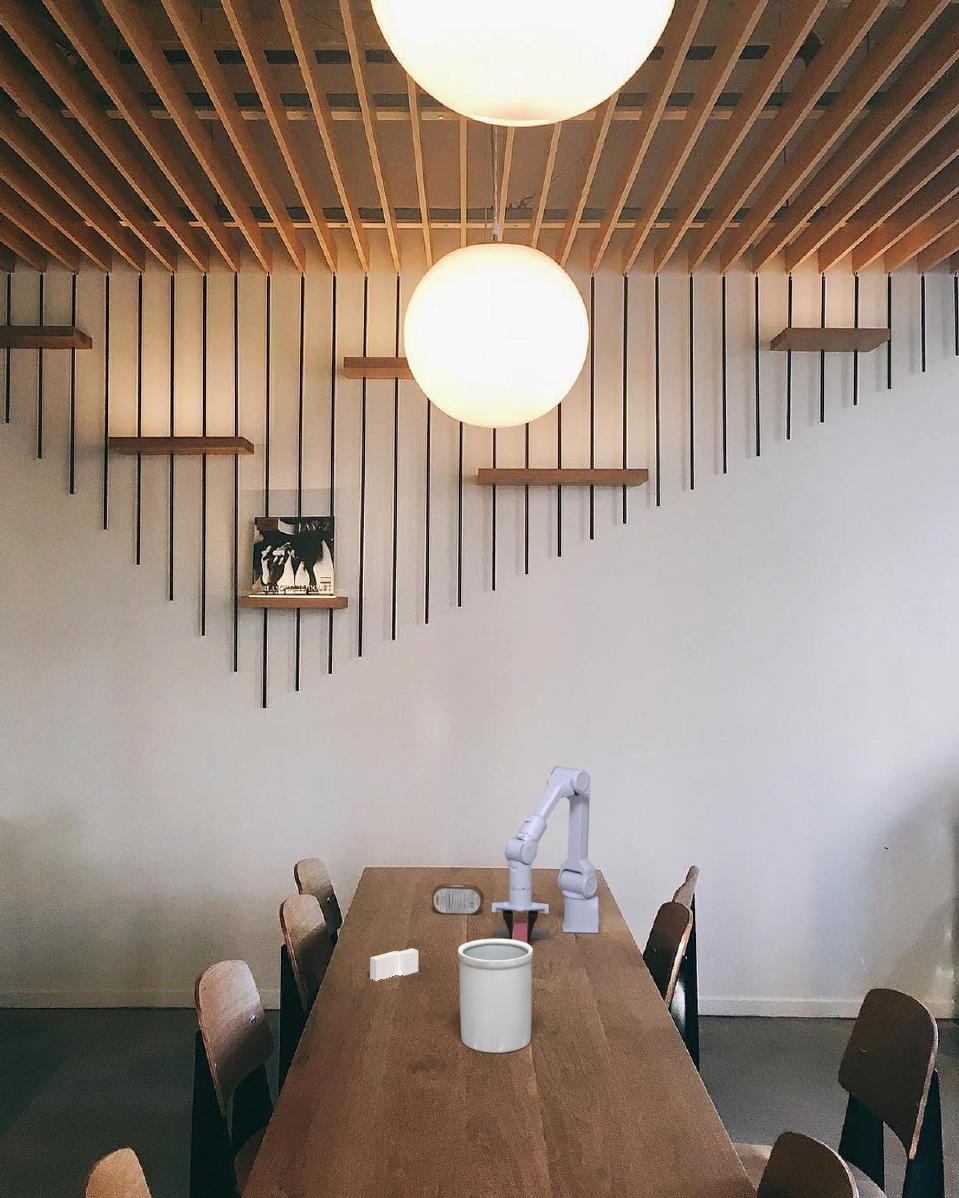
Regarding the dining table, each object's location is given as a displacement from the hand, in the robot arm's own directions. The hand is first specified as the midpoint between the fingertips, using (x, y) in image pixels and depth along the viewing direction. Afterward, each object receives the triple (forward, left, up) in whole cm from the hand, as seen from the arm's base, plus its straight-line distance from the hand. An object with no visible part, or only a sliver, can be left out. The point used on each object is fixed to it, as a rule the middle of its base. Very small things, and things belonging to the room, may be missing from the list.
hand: (520, 940), depth 249 cm
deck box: (0, 0, -2) cm, 2 cm away
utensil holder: (+3, +58, -2) cm, 58 cm away
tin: (+19, -29, -2) cm, 35 cm away
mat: (0, -11, -2) cm, 11 cm away
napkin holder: (+28, +23, -2) cm, 37 cm away
